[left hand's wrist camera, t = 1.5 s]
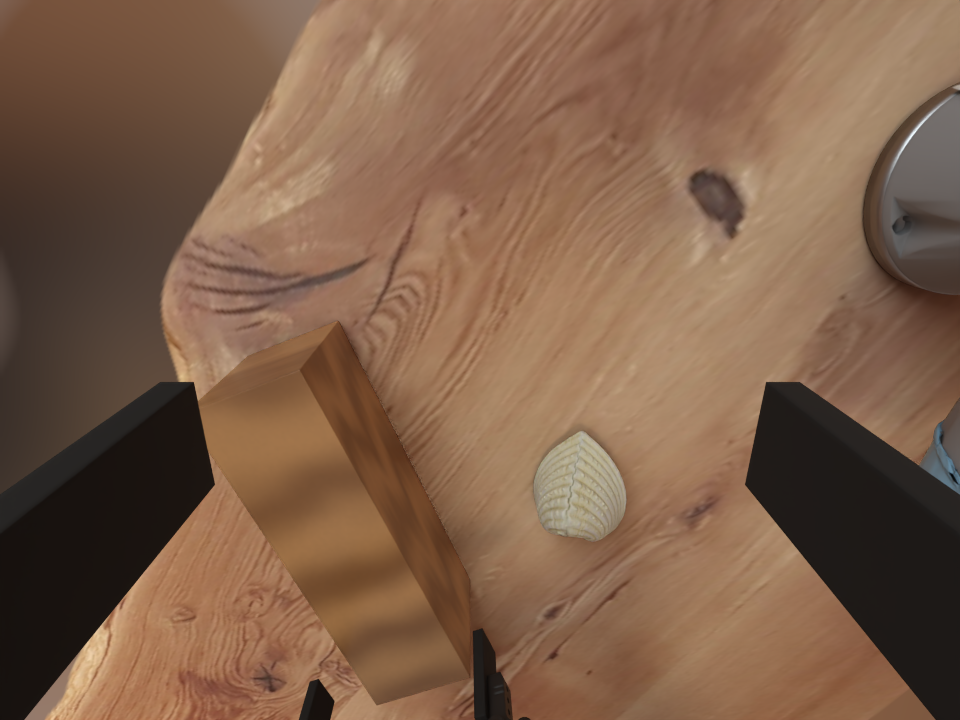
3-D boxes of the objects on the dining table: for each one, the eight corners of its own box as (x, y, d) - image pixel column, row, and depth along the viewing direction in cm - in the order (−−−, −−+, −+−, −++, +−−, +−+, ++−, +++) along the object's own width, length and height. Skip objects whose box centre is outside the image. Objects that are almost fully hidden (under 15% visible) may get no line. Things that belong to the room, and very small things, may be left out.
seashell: (523, 546, 48) (512, 511, 42) (546, 463, 53) (539, 420, 46) (615, 571, 45) (617, 538, 39) (631, 481, 50) (635, 439, 44)
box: (247, 356, 44) (183, 414, 34) (338, 320, 43) (299, 369, 33) (393, 604, 53) (376, 705, 44) (470, 580, 52) (470, 677, 43)
